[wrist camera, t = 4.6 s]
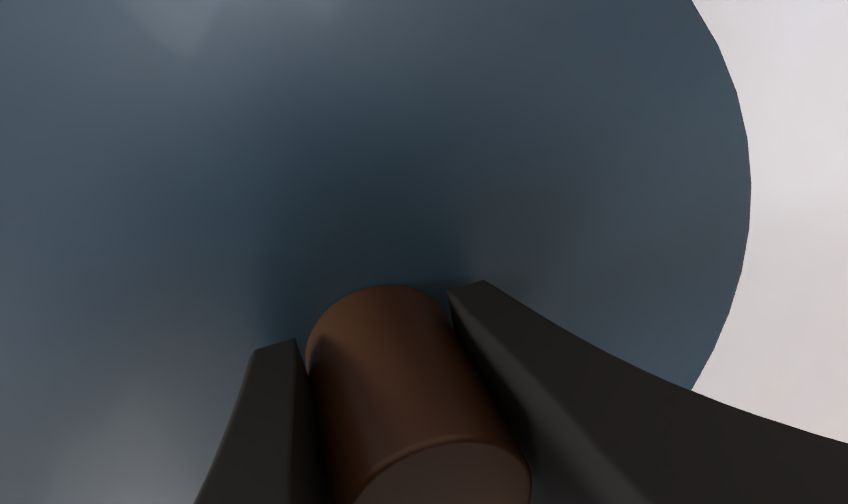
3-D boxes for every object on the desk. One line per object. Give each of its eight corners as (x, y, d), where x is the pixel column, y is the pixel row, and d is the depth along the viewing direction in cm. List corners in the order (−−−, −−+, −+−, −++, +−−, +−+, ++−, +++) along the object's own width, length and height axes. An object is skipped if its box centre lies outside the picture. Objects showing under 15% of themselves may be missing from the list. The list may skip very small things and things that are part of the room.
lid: (447, 614, 16) (516, 830, 12) (-254, 498, 10) (-570, 884, 6) (835, 167, 13) (1100, 275, 9) (149, -498, 6) (20, -1205, 2)
